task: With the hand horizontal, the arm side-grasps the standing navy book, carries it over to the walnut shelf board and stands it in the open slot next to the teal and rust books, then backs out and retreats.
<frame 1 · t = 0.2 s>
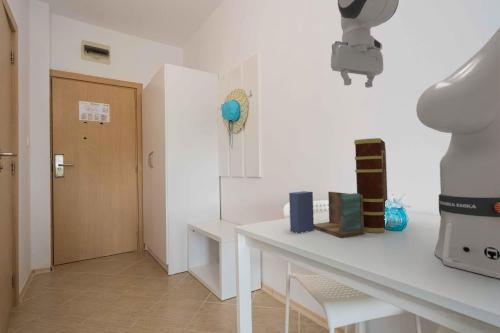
hand: (358, 86, 87), 48 cm above the table, tool pointing down, fingers open, 8 cm apart
navy book: (302, 230, 88), on the table
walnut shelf: (336, 230, 86), on the table
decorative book: (373, 225, 92), on the table
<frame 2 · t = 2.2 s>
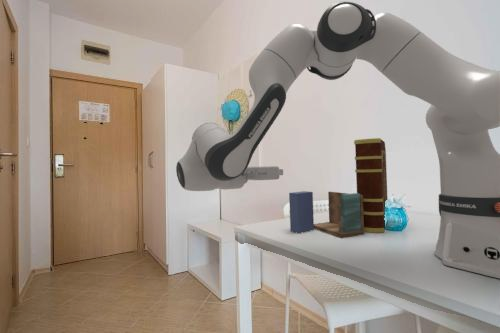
hand: (272, 172, 82), 20 cm above the table, tool horizontal, fingers open, 8 cm apart
nothing on the table moved.
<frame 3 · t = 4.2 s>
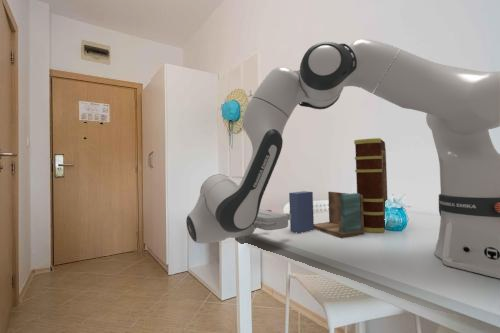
hand: (279, 214, 83), 7 cm above the table, tool horizontal, fingers open, 8 cm apart
nothing on the table moved.
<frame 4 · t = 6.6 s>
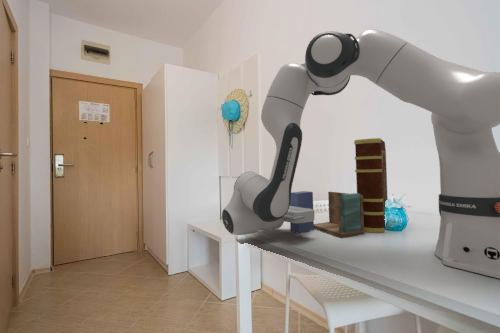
hand: (303, 209, 89), 7 cm above the table, tool horizontal, fingers closed on navy book, 4 cm apart
navy book: (302, 230, 88), on the table, touching gripper
everything else where it was.
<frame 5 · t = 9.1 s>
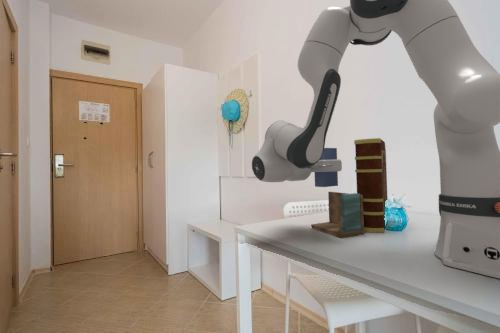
hand: (327, 165, 90), 22 cm above the table, tool horizontal, fingers closed on navy book, 4 cm apart
navy book: (326, 186, 89), point 15 cm above the table, touching gripper
everything else where it was.
when the fingers open (10 cm above the table, at t = 11.6 s): navy book drops 1 cm, resting on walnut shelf.
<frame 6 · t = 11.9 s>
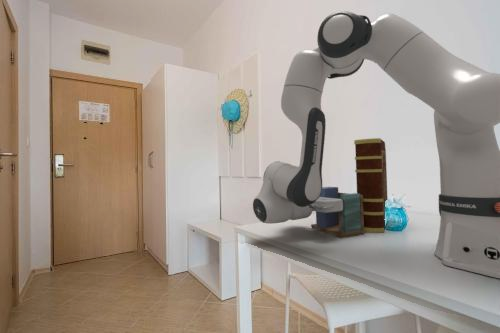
hand: (328, 200, 90), 10 cm above the table, tool horizontal, fingers open, 6 cm apart
navy book: (327, 225, 89), point 1 cm above the table, touching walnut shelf
everything else where it was.
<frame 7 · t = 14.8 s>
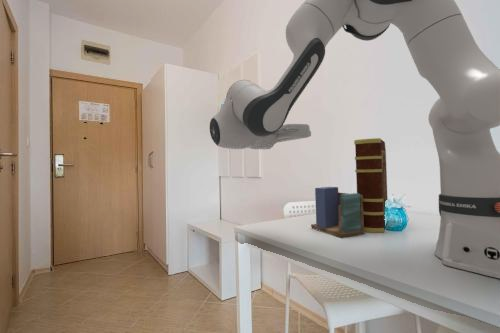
hand: (298, 135, 83), 32 cm above the table, tool horizontal, fingers open, 8 cm apart
nothing on the table moved.
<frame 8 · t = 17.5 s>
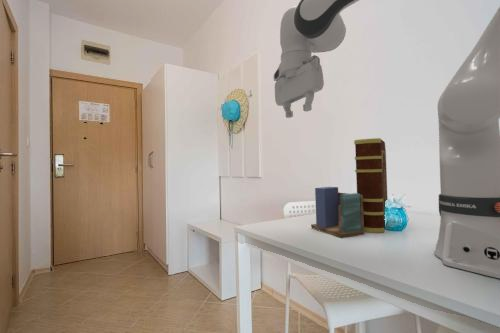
hand: (297, 114, 76), 37 cm above the table, tool pointing down, fingers open, 8 cm apart
nothing on the table moved.
at the end: navy book 0.6 cm from the target spot on the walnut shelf, point 1.2 cm above the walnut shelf's base; navy book tilted 0°; the gripper is holding nothing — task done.
